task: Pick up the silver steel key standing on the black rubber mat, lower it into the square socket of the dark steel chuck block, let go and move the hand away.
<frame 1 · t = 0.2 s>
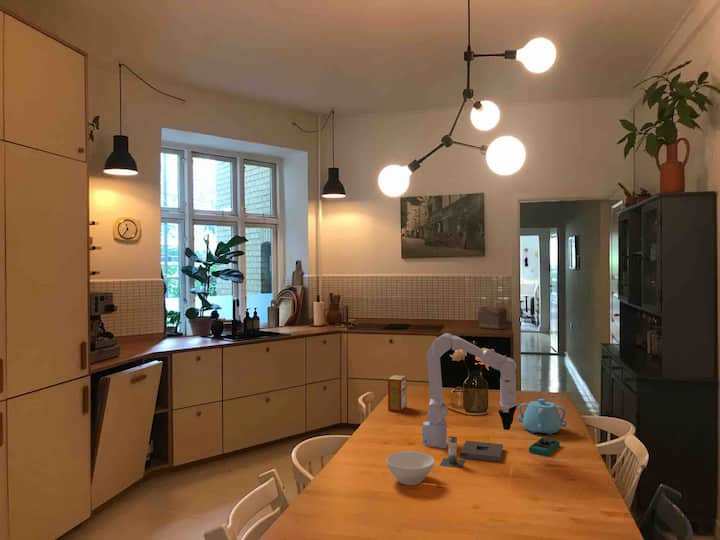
hand: (507, 426, 204), 10 cm above the table, tool pointing down, fingers open, 7 cm apart
chuck block: (482, 454, 202), on the table
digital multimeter: (544, 450, 208), on the table
decorative pot: (542, 431, 231), on the table
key: (452, 462, 193), resting on key mat
key mat: (452, 464, 193), on the table
baking soda box: (397, 409, 267), on the table
bowl: (410, 481, 178), on the table
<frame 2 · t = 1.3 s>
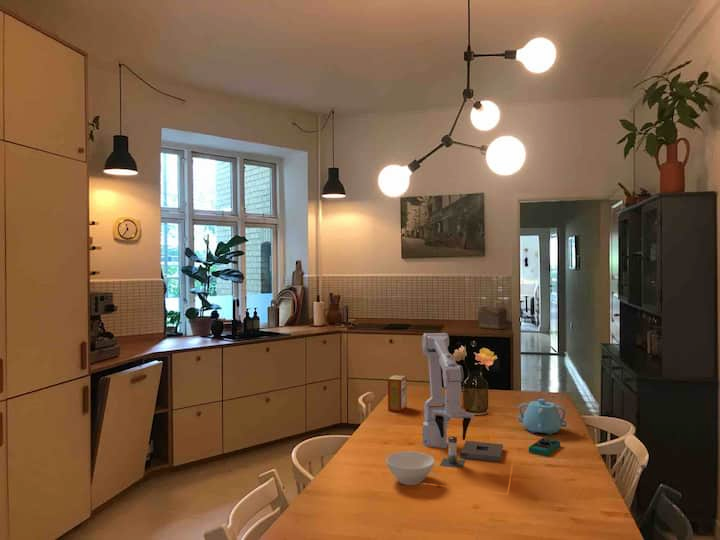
hand: (453, 438, 193), 9 cm above the table, tool pointing down, fingers open, 7 cm apart
nothing on the table moved.
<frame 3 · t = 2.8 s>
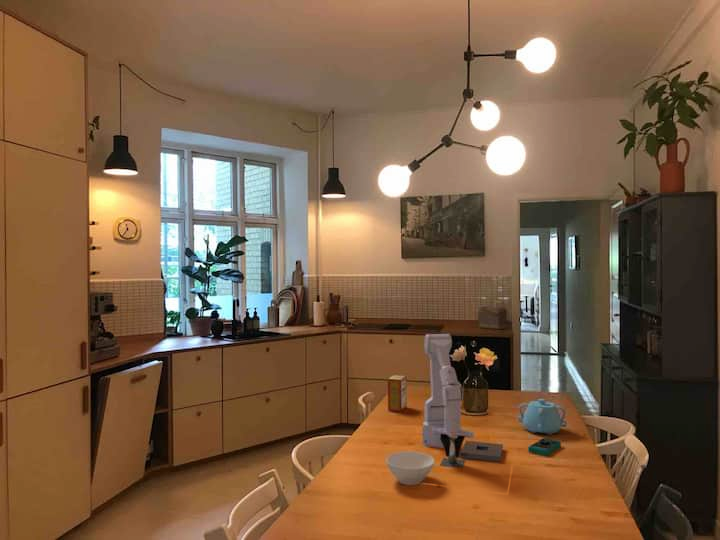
hand: (452, 456, 193), 3 cm above the table, tool pointing down, fingers closed on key, 3 cm apart
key: (452, 462, 193), resting on key mat, touching gripper
everything else where it was.
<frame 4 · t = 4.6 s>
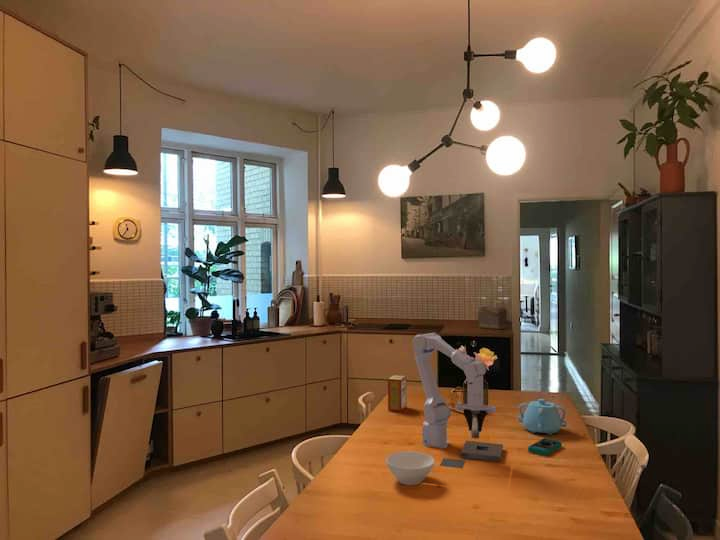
hand: (475, 430, 200), 10 cm above the table, tool pointing down, fingers closed on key, 3 cm apart
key: (475, 437, 199), point 7 cm above the table, touching gripper
everything else where it was.
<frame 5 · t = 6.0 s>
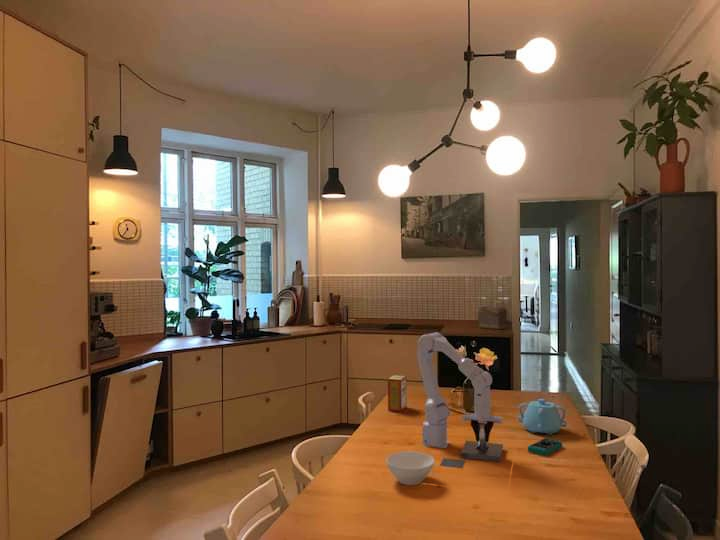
hand: (482, 441, 202), 5 cm above the table, tool pointing down, fingers closed on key, 3 cm apart
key: (482, 447, 202), point 3 cm above the table, touching gripper
everything else where it was.
when the fingers open (3 cm above the table, at t = 6.8 s): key stays where it is, resting in chuck block.
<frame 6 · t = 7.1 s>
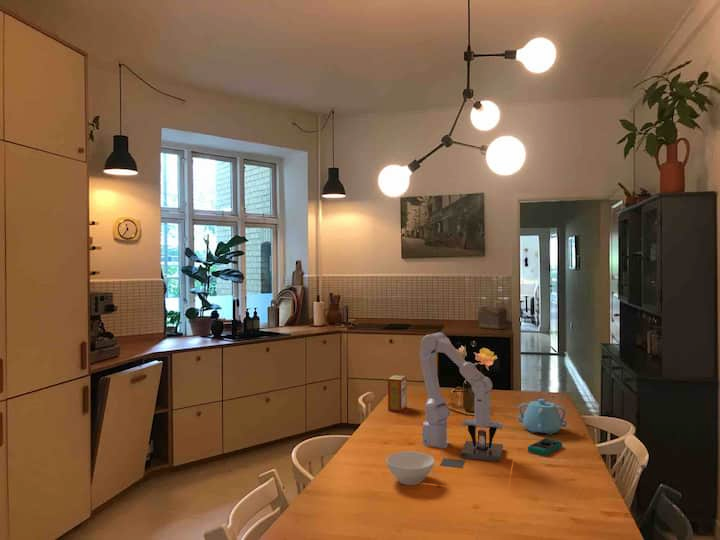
hand: (482, 446, 202), 3 cm above the table, tool pointing down, fingers open, 5 cm apart
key: (482, 454, 202), resting in chuck block
everything else where it was.
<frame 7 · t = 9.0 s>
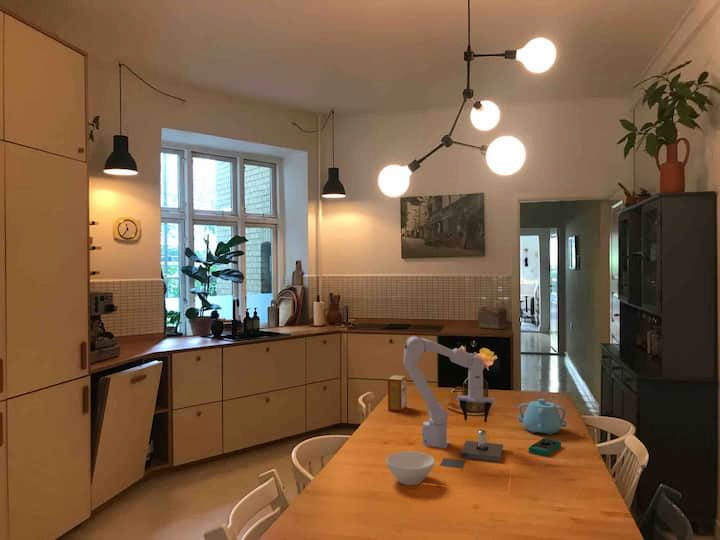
hand: (475, 420, 214), 9 cm above the table, tool pointing down, fingers open, 7 cm apart
nothing on the table moved.
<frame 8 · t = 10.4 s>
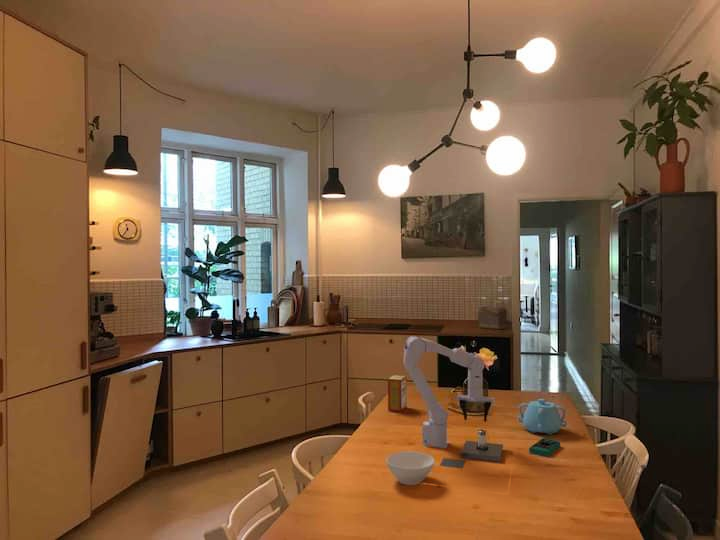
hand: (475, 420, 214), 9 cm above the table, tool pointing down, fingers open, 7 cm apart
nothing on the table moved.
at the end: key 0.1 cm off-centre on the chuck block, point 0.0 cm above the chuck block's base; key tilted 0°; the gripper is holding nothing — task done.
